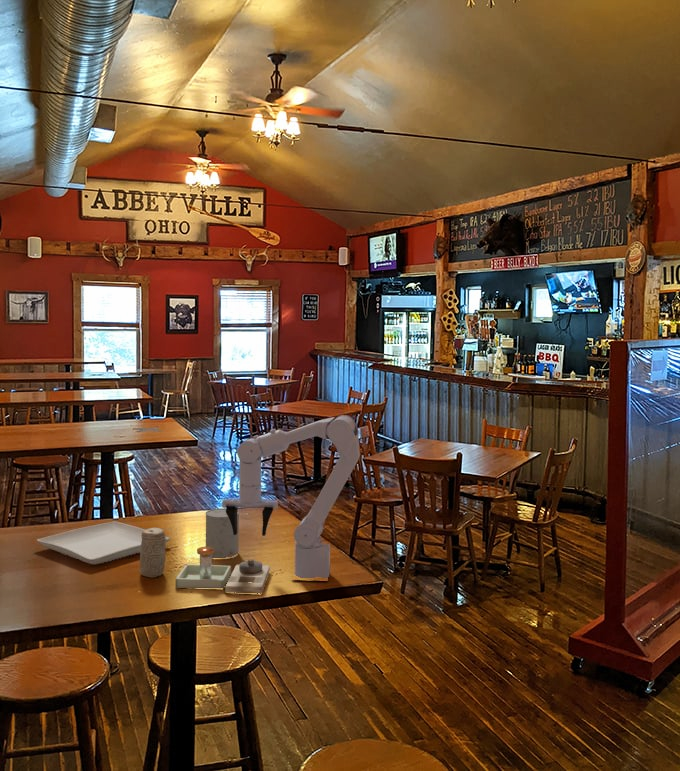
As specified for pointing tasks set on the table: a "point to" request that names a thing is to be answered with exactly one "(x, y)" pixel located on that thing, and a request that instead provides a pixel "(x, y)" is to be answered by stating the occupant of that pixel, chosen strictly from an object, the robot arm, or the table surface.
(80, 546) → the square plate
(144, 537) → the carving
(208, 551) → the pin
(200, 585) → the tray
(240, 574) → the white holder block
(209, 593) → the table surface
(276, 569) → the table surface
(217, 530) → the grey cylinder
